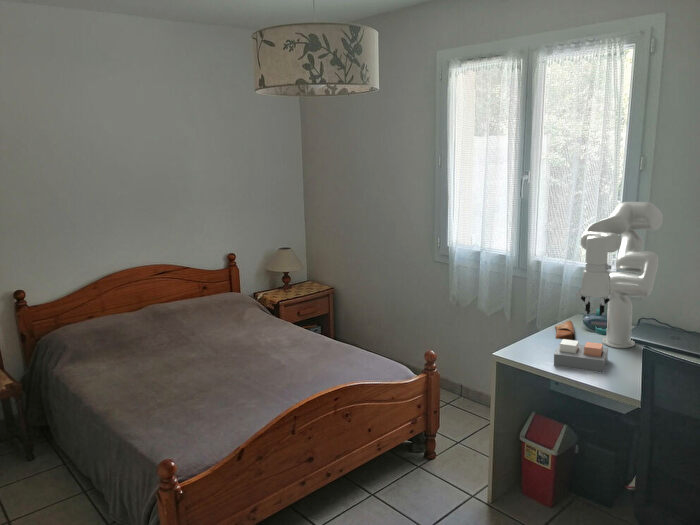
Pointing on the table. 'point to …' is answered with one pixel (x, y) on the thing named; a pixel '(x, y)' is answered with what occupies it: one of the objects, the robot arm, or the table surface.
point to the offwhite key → (569, 346)
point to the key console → (581, 360)
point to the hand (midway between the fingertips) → (594, 313)
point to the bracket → (600, 330)
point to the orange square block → (593, 349)
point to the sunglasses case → (565, 331)
